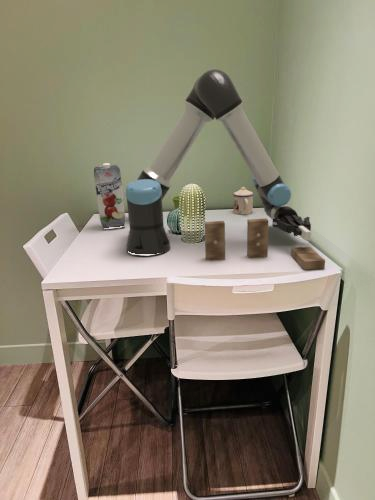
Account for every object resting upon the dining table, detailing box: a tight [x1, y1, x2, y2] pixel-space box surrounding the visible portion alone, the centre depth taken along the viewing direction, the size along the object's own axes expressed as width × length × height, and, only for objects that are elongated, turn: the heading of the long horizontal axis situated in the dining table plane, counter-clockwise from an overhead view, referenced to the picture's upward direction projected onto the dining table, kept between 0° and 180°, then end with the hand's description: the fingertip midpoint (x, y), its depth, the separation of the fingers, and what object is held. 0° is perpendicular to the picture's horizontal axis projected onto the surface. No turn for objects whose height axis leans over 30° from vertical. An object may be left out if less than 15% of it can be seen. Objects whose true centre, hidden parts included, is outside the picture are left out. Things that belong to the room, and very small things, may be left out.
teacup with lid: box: [232, 186, 254, 215], centre depth 169 cm, size 12×9×12 cm
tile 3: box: [290, 246, 326, 271], centre depth 112 cm, size 6×3×12 cm
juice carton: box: [93, 162, 126, 229], centre depth 154 cm, size 9×10×27 cm
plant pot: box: [171, 195, 180, 210], centre depth 170 cm, size 9×9×9 cm
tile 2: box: [246, 218, 269, 259], centre depth 116 cm, size 6×3×12 cm, turn 93°
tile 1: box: [204, 220, 226, 261], centre depth 116 cm, size 6×3×12 cm, turn 93°
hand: (308, 236), depth 110 cm, fingers closed
